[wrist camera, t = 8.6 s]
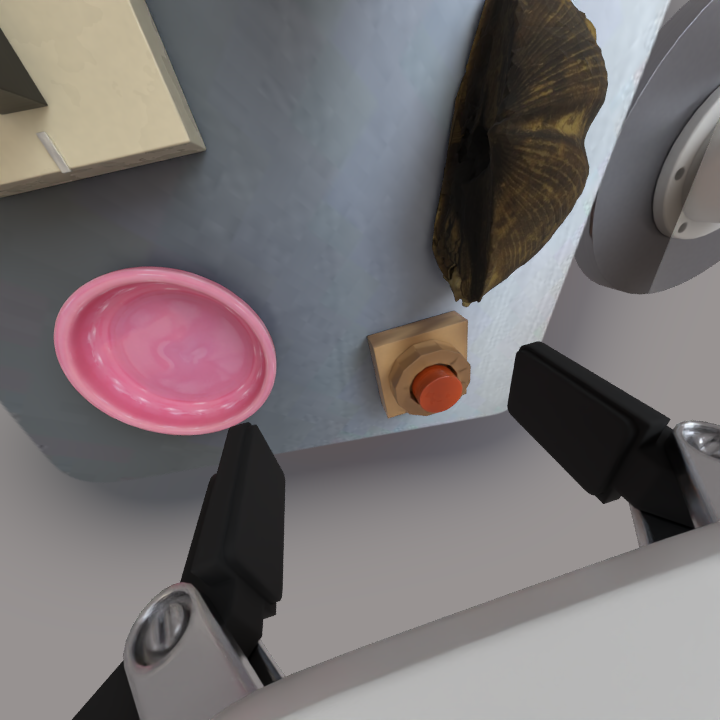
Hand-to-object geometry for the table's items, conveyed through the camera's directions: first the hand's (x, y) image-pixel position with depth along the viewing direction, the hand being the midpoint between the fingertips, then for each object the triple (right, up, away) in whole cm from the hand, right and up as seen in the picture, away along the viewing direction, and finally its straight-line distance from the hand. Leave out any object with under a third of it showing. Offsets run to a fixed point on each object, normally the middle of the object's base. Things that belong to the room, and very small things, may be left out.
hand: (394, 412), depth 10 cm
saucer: (-14, +3, +11) cm, 18 cm away
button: (+5, 0, +13) cm, 14 cm away
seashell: (+8, +15, +9) cm, 19 cm away
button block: (+4, +2, +16) cm, 17 cm away
